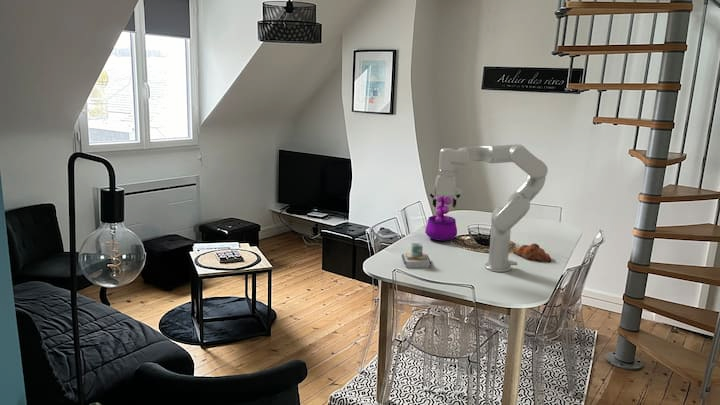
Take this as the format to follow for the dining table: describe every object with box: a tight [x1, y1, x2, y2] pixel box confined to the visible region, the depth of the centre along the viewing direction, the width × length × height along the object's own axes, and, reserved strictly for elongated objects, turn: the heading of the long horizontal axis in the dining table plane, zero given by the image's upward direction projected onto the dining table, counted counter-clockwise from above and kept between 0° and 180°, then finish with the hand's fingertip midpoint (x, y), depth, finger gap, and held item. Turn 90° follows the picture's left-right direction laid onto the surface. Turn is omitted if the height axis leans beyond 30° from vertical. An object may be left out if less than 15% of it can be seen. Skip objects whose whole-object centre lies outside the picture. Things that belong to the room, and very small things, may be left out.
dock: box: [401, 253, 432, 268], centre depth 272 cm, size 14×12×3 cm
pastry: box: [512, 243, 552, 263], centre depth 285 cm, size 17×15×8 cm
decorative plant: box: [424, 196, 458, 241], centre depth 311 cm, size 19×18×30 cm
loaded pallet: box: [405, 242, 427, 260], centre depth 270 cm, size 10×6×7 cm, turn 92°
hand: (444, 206), depth 265 cm, fingers open, 9 cm apart
